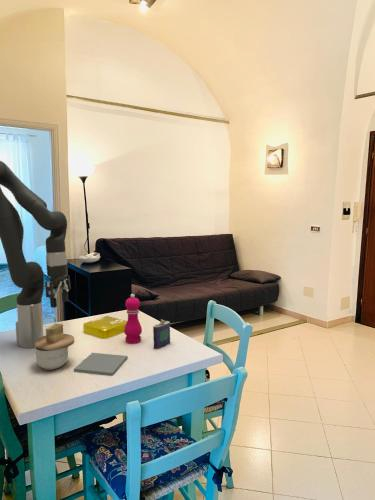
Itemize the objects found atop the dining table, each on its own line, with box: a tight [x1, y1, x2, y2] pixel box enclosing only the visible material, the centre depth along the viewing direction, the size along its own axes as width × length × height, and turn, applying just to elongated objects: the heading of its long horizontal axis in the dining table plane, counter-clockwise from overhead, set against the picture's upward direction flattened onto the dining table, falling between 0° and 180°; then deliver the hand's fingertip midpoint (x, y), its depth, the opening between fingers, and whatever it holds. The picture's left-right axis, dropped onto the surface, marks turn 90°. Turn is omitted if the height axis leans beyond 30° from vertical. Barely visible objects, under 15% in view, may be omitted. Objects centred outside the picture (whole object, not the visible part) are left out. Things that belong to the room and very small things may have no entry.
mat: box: [73, 352, 129, 377], centre depth 132 cm, size 14×14×1 cm
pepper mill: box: [123, 293, 143, 345], centre depth 153 cm, size 7×7×20 cm
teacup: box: [34, 346, 69, 371], centre depth 132 cm, size 14×11×8 cm
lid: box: [35, 322, 75, 350], centre depth 131 cm, size 13×13×6 cm
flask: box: [152, 319, 171, 350], centre depth 149 cm, size 9×3×11 cm, turn 144°
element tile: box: [82, 315, 127, 340], centre depth 166 cm, size 15×15×5 cm
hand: (59, 304), depth 146 cm, fingers open, 8 cm apart
